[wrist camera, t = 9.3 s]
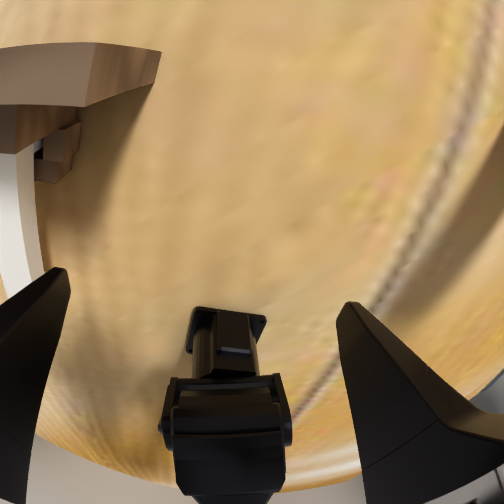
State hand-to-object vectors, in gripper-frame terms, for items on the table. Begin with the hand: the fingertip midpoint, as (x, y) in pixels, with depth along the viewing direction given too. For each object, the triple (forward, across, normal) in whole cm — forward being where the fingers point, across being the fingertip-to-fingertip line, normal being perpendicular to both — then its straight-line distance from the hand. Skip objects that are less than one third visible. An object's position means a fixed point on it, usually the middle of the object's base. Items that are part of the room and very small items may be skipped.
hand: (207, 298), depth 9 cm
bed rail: (+12, +13, +5) cm, 18 cm away
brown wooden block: (+12, +13, -3) cm, 18 cm away
